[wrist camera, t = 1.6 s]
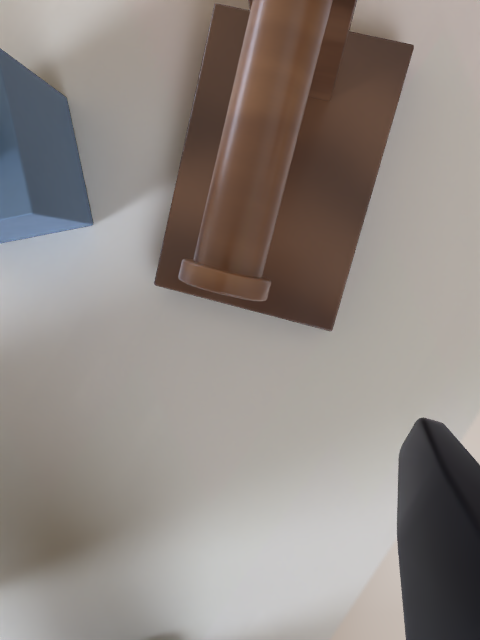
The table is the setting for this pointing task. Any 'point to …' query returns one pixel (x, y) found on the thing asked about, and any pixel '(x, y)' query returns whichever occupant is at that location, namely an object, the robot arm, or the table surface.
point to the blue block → (37, 158)
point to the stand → (281, 158)
